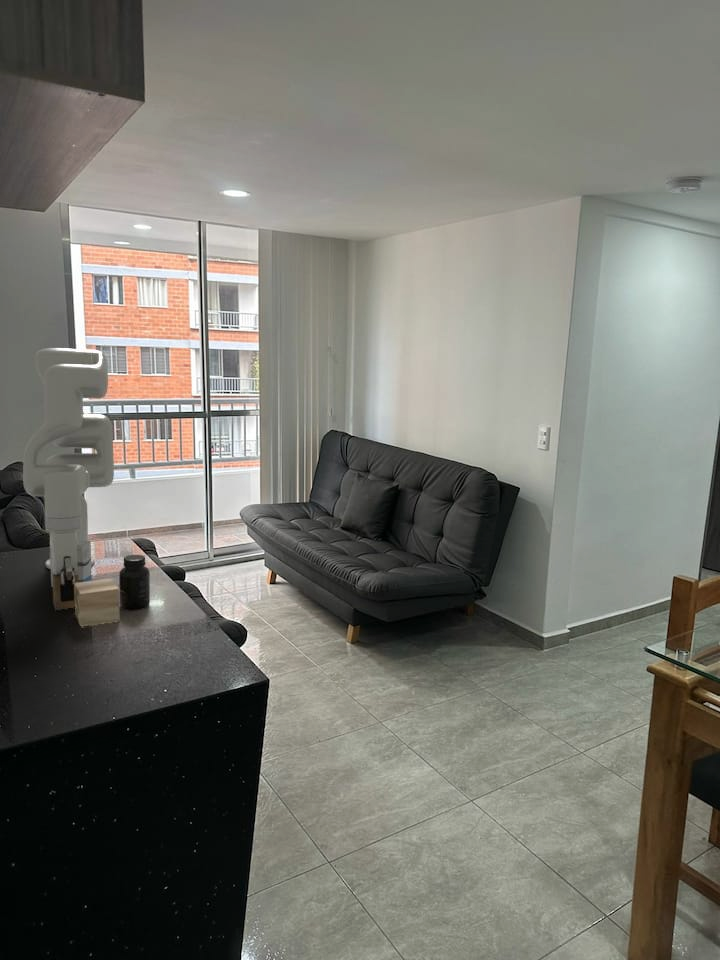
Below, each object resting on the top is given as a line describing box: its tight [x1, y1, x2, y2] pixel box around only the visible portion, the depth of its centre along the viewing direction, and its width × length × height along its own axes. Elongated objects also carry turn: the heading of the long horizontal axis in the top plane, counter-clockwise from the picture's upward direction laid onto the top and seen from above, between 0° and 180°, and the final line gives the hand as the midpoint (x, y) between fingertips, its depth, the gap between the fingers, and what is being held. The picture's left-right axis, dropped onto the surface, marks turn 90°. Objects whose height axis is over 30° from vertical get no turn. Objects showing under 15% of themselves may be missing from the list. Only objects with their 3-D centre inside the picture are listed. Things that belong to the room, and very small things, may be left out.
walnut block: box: [52, 570, 78, 611], centre depth 153 cm, size 5×5×8 cm
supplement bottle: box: [118, 554, 151, 611], centre depth 154 cm, size 7×7×12 cm
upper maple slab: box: [74, 578, 120, 612], centre depth 146 cm, size 8×8×4 cm
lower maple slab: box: [74, 602, 121, 628], centre depth 146 cm, size 8×8×4 cm
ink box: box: [50, 540, 93, 588], centre depth 166 cm, size 8×5×12 cm, turn 84°
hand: (65, 594), depth 153 cm, fingers open, 9 cm apart
